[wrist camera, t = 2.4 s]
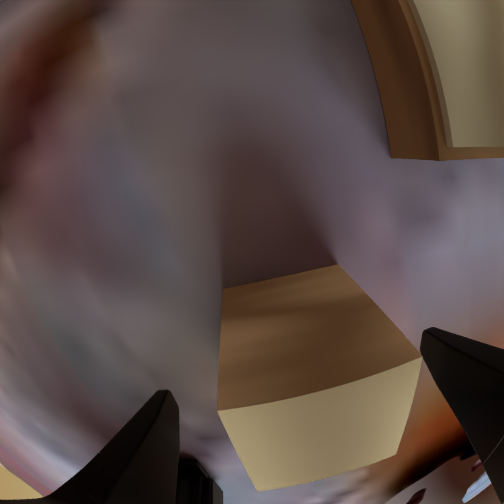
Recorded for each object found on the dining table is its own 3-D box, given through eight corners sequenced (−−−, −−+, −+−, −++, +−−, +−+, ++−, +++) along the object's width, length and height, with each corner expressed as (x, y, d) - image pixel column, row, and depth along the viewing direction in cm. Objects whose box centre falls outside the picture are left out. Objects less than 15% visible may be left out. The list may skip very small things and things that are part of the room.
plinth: (391, 158, 10) (445, 161, 6) (317, -69, 6) (336, -108, 3) (520, 152, 10) (563, 158, 7) (464, -28, 6) (495, -44, 3)
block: (246, 375, 12) (257, 491, 7) (222, 288, 11) (217, 410, 5) (342, 353, 12) (395, 454, 7) (337, 263, 11) (422, 356, 5)
